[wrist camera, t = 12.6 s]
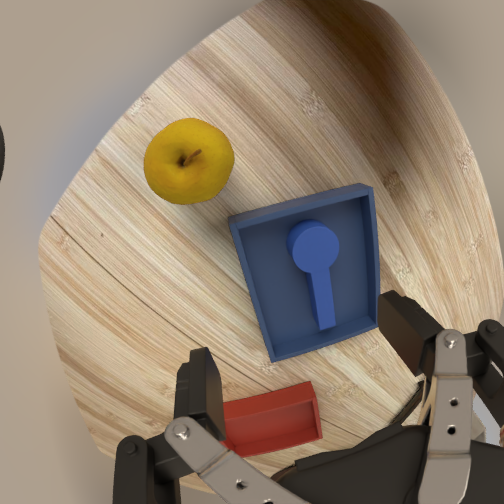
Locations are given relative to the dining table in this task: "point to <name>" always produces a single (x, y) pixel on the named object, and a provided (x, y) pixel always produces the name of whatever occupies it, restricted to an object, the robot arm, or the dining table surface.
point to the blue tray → (294, 279)
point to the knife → (411, 405)
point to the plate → (280, 474)
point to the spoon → (315, 265)
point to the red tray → (272, 421)
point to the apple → (188, 162)
